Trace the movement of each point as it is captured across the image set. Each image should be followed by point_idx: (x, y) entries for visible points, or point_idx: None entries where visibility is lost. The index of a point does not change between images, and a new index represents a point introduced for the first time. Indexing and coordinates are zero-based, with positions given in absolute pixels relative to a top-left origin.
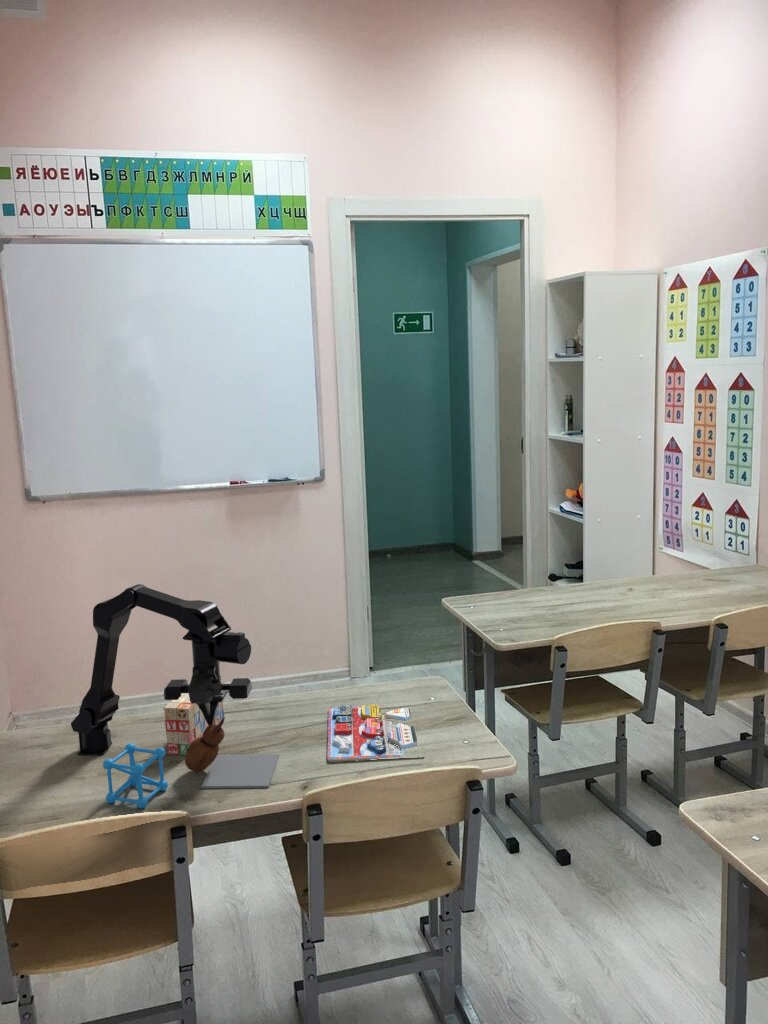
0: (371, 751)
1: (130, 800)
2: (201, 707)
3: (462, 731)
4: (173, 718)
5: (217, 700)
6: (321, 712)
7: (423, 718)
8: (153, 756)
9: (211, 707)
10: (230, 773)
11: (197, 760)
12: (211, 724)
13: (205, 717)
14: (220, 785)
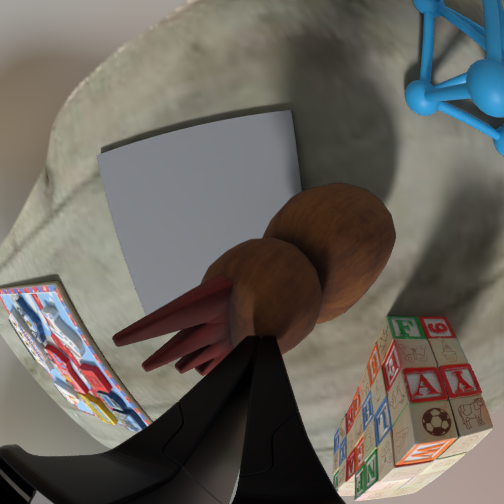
0: (30, 306)
1: (462, 15)
2: (294, 468)
3: (12, 343)
4: (460, 401)
5: (11, 466)
6: None
7: (52, 381)
8: (495, 33)
9: (172, 450)
10: (222, 206)
11: (329, 184)
12: (248, 337)
13: (279, 377)
14: (223, 122)
